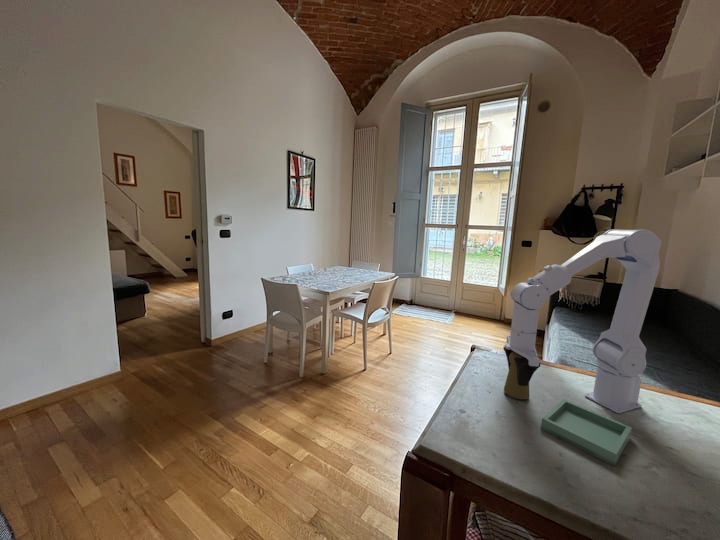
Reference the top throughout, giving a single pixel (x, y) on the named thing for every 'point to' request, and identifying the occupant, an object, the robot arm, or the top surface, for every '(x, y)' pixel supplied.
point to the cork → (515, 381)
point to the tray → (587, 430)
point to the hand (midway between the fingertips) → (518, 379)
